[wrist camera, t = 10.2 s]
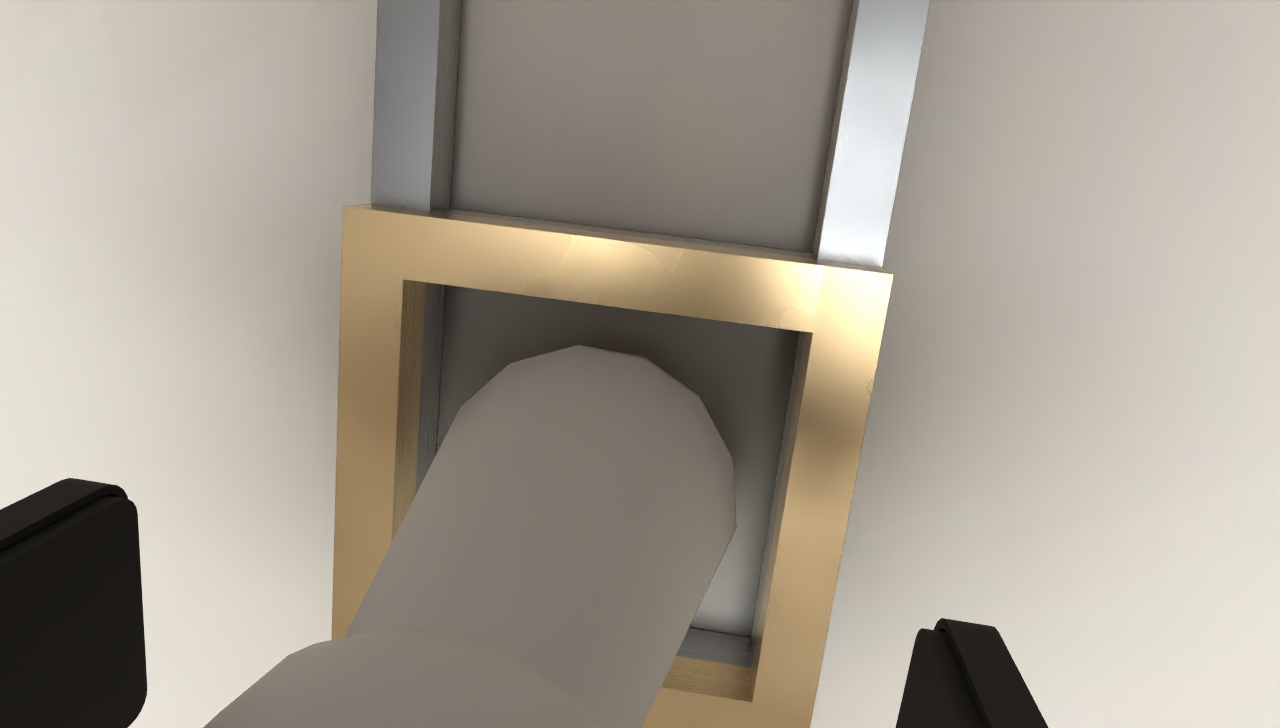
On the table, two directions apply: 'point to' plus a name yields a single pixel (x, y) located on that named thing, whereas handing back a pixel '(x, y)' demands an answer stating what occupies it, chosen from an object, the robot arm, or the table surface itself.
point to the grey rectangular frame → (846, 232)
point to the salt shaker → (530, 562)
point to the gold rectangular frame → (642, 280)
